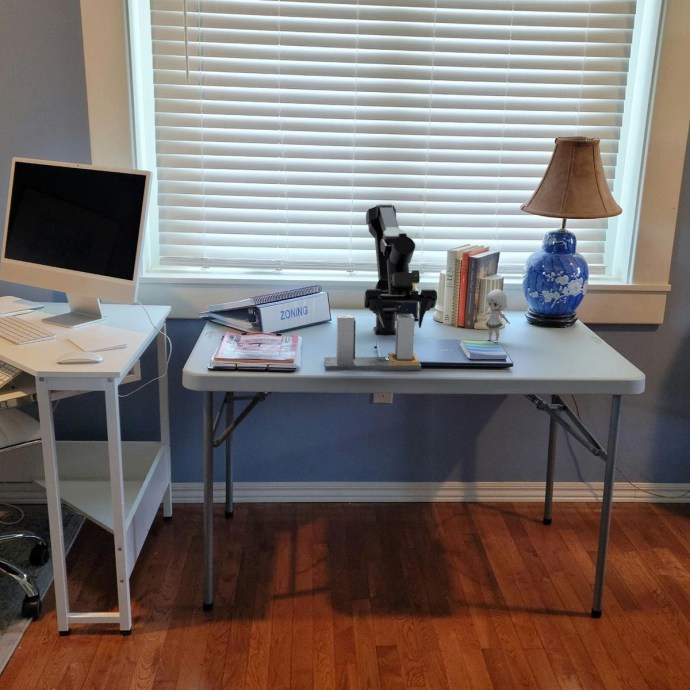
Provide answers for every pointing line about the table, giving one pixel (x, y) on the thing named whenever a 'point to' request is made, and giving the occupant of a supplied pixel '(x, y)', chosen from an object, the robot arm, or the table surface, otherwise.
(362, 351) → the table surface
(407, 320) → the gray block
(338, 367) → the rail
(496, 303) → the figurine
